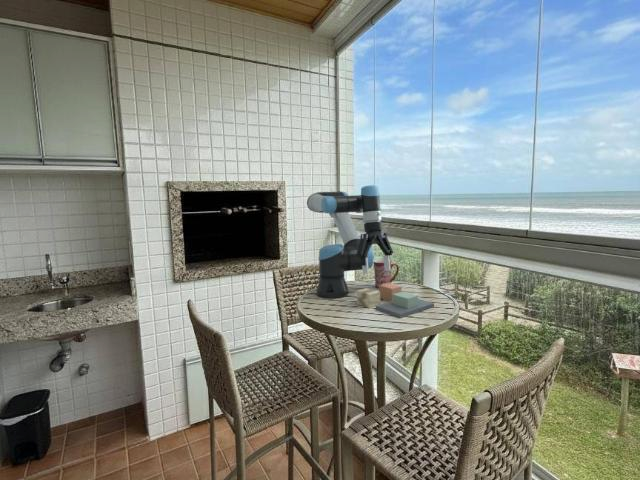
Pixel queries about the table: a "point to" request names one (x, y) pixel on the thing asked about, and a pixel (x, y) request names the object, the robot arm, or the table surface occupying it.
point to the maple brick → (368, 297)
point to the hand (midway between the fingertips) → (377, 272)
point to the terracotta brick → (388, 291)
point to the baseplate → (403, 310)
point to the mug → (383, 273)
